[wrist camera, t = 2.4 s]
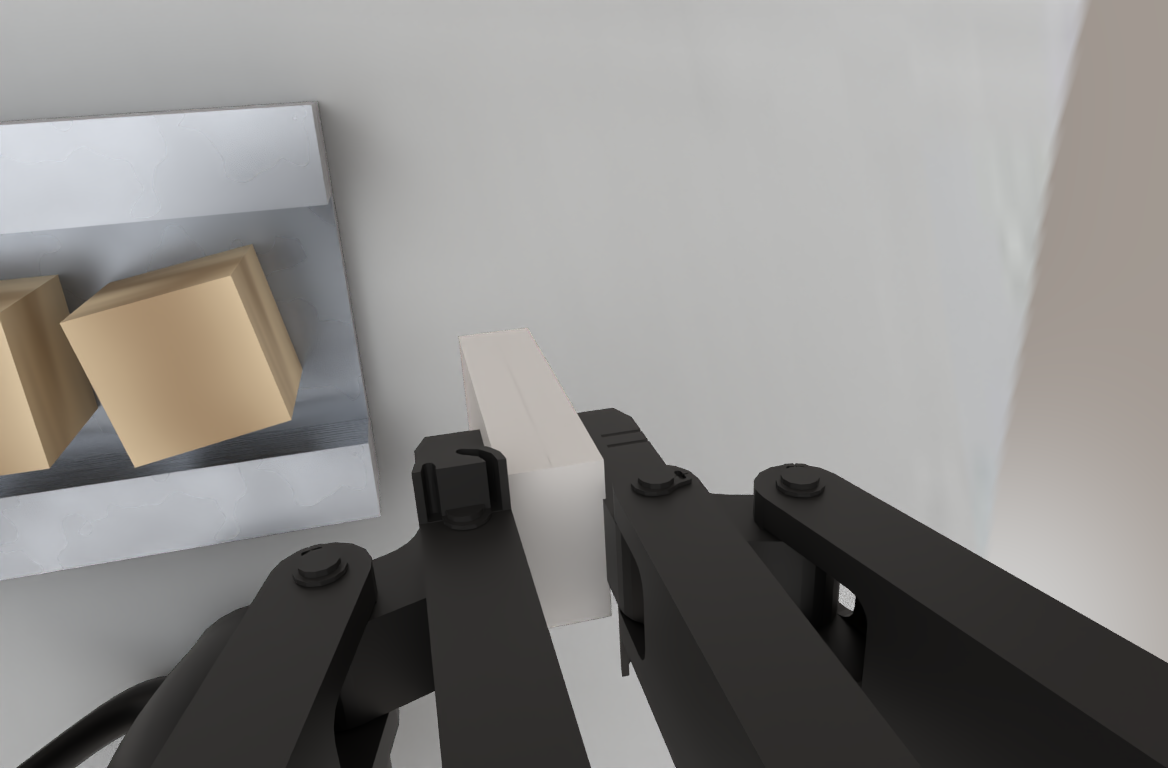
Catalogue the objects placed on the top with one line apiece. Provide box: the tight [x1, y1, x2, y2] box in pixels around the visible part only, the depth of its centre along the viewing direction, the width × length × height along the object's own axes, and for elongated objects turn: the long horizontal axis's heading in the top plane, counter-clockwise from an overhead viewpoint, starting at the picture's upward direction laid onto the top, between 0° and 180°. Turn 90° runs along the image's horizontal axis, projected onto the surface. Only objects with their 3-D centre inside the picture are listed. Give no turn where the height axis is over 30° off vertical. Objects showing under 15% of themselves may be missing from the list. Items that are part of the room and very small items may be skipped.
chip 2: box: [60, 244, 302, 468], centre depth 22 cm, size 4×4×4 cm
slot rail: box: [0, 101, 381, 581], centre depth 23 cm, size 15×12×3 cm
